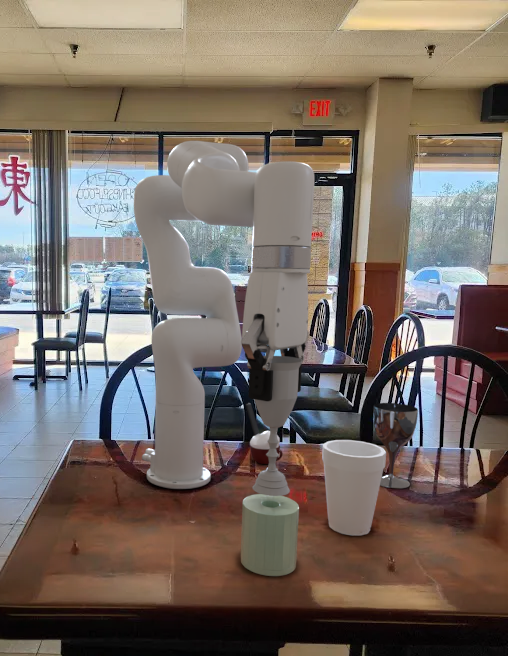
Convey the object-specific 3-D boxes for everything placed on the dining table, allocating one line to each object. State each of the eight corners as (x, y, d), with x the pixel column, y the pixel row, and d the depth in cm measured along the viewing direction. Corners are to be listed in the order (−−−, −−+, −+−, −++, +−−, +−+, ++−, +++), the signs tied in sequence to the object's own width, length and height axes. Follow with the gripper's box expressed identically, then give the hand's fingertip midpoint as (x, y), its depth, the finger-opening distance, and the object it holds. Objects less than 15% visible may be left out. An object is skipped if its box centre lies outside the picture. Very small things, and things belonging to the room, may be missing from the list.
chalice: (285, 503, 73) (292, 364, 71) (237, 492, 77) (241, 360, 75) (303, 486, 80) (310, 358, 77) (258, 476, 83) (262, 354, 81)
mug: (297, 579, 75) (300, 517, 74) (239, 572, 77) (241, 512, 76) (293, 543, 86) (295, 488, 85) (242, 538, 87) (244, 484, 86)
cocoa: (287, 467, 120) (289, 411, 119) (259, 469, 119) (262, 413, 117) (266, 453, 129) (268, 401, 128) (241, 455, 128) (243, 403, 126)
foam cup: (349, 544, 85) (354, 460, 84) (306, 521, 93) (310, 444, 92) (393, 532, 90) (399, 452, 88) (348, 511, 98) (353, 437, 96)
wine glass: (404, 475, 116) (409, 403, 114) (418, 490, 108) (424, 412, 106) (364, 473, 117) (369, 402, 115) (375, 487, 109) (380, 411, 107)
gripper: (286, 264, 84) (281, 383, 86) (219, 259, 70) (215, 401, 73) (335, 263, 79) (328, 390, 81) (273, 259, 66) (267, 410, 68)
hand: (275, 394), depth 77 cm, fingers closed on chalice, 7 cm apart
